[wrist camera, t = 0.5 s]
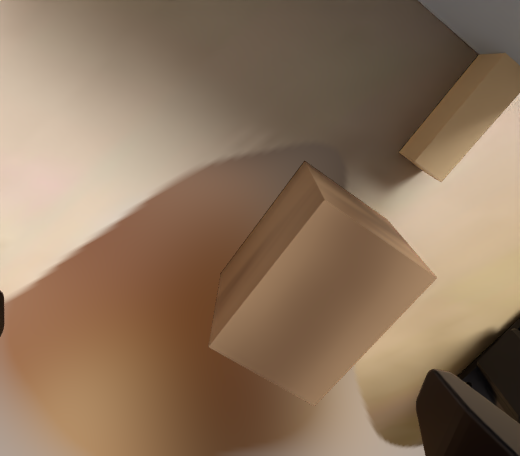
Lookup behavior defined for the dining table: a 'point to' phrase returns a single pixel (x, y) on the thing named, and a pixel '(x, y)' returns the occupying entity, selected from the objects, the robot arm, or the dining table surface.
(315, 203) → the cabinet block
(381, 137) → the dining table surface
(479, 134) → the grey toy bench
